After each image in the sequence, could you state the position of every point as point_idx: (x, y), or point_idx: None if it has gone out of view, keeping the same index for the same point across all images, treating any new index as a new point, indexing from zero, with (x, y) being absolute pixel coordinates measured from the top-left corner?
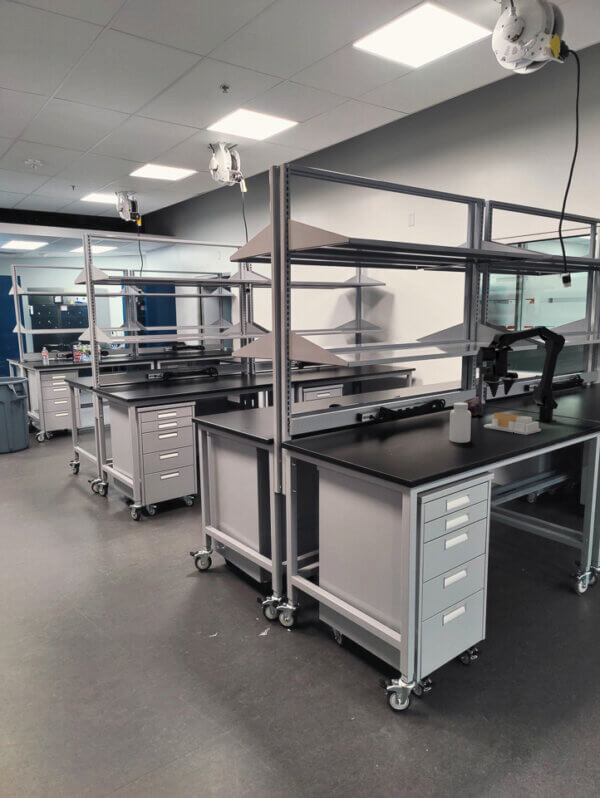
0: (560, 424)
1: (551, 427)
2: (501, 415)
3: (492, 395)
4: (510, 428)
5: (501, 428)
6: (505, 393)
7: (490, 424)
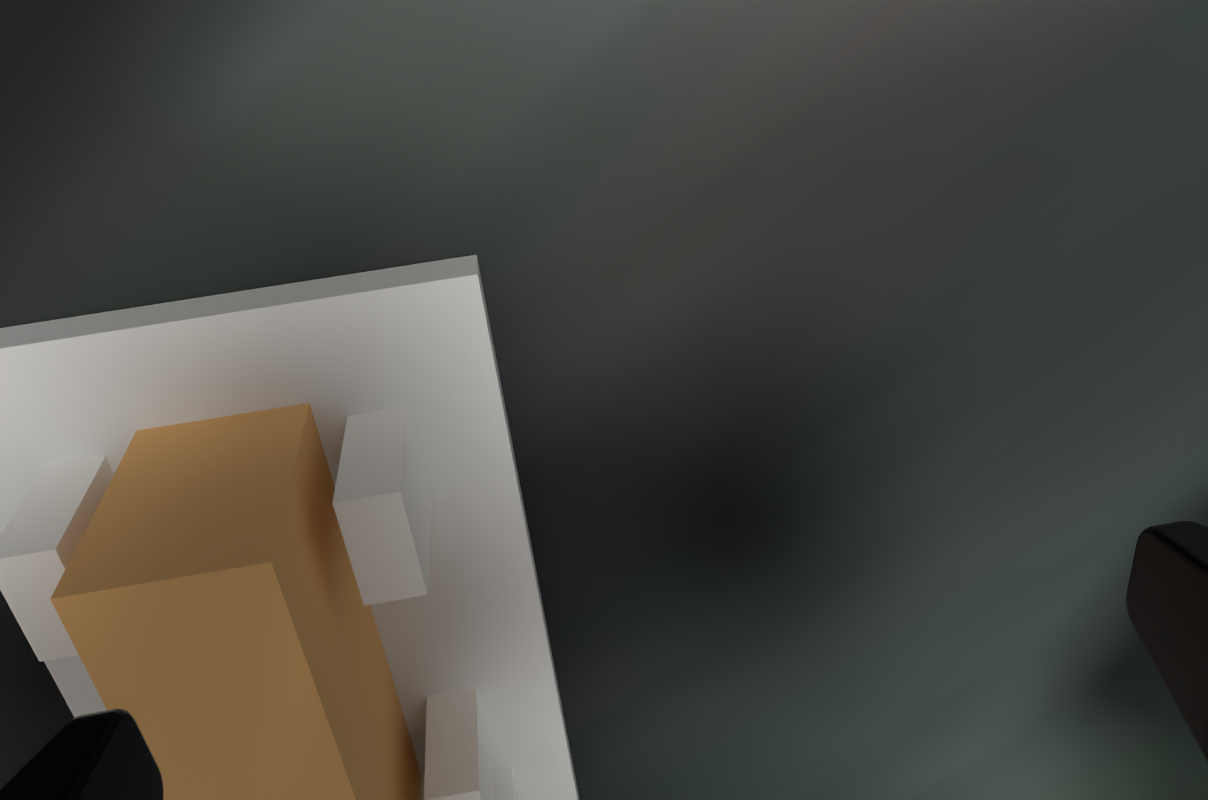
0: None
1: (918, 792)
2: None
3: (36, 778)
4: None
5: (64, 690)
6: (1169, 606)
7: (69, 396)
